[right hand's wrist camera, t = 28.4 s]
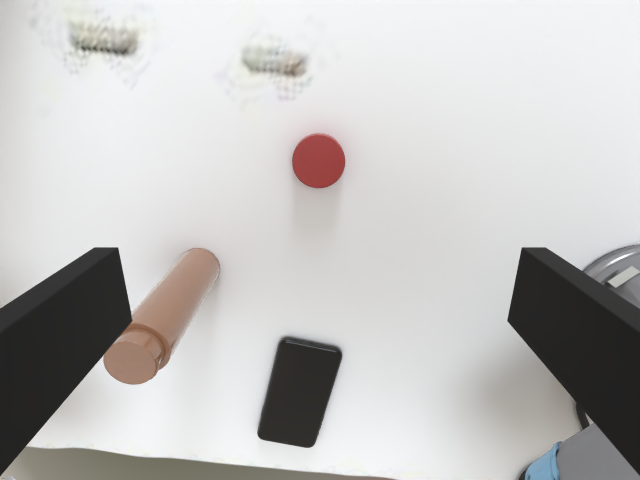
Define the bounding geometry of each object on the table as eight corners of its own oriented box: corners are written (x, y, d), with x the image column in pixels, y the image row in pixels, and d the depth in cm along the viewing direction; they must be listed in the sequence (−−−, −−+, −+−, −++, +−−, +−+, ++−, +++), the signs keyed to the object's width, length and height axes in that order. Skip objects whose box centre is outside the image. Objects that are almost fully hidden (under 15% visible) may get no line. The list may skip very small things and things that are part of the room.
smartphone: (280, 334, 45) (256, 434, 50) (279, 338, 44) (255, 439, 49) (344, 347, 46) (313, 444, 51) (344, 351, 45) (313, 450, 50)
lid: (354, 156, 38) (355, 158, 36) (321, 193, 39) (322, 198, 37) (315, 122, 37) (315, 123, 35) (283, 162, 38) (281, 165, 36)
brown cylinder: (182, 284, 43) (103, 388, 27) (177, 247, 41) (91, 336, 26) (221, 285, 43) (165, 389, 27) (218, 248, 41) (157, 337, 26)
